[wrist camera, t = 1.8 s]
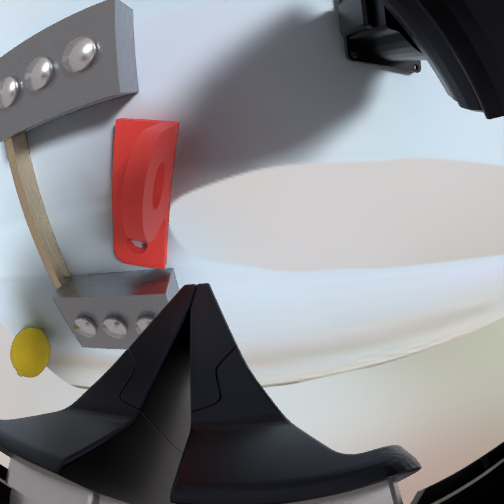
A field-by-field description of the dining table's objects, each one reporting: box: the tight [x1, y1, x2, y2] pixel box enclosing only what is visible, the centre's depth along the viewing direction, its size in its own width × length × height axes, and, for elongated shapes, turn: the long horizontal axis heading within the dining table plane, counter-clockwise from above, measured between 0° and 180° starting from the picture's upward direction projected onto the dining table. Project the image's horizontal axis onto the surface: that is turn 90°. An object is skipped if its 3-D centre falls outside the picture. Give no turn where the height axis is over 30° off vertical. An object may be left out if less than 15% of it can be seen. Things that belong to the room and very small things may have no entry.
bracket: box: [112, 118, 179, 270], centre depth 17 cm, size 12×4×8 cm, turn 168°
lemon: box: [10, 327, 50, 377], centre depth 25 cm, size 6×6×8 cm
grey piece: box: [0, 0, 179, 349], centre depth 18 cm, size 12×29×4 cm, turn 4°
